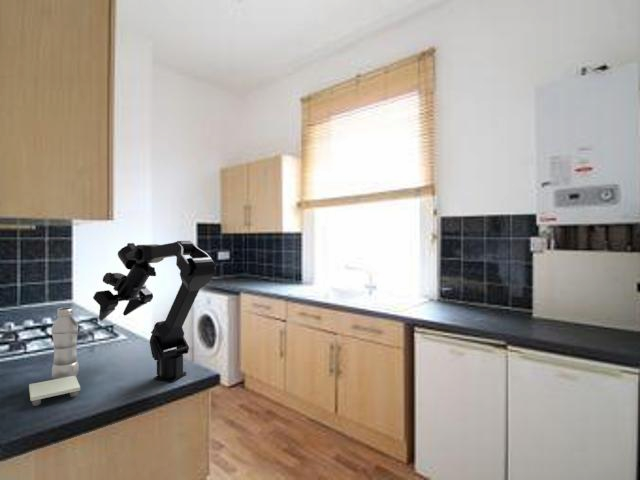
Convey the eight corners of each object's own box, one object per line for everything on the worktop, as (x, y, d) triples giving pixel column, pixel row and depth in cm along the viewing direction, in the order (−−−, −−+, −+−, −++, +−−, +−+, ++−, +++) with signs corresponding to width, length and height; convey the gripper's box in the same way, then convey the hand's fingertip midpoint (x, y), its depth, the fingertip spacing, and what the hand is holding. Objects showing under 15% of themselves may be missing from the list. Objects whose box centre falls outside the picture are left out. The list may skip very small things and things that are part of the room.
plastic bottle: (80, 373, 111) (79, 305, 111) (77, 381, 105) (77, 309, 105) (53, 377, 108) (52, 307, 108) (49, 385, 102) (49, 312, 102)
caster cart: (75, 384, 103) (75, 375, 103) (80, 397, 96) (80, 387, 96) (29, 393, 97) (29, 384, 97) (30, 408, 89) (30, 397, 89)
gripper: (142, 262, 129) (120, 297, 132) (94, 264, 112) (70, 305, 114) (163, 282, 126) (140, 318, 129) (118, 288, 109) (92, 329, 111)
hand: (112, 317), depth 121 cm, fingers open, 9 cm apart
